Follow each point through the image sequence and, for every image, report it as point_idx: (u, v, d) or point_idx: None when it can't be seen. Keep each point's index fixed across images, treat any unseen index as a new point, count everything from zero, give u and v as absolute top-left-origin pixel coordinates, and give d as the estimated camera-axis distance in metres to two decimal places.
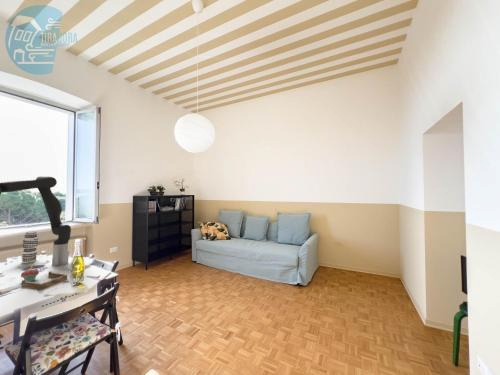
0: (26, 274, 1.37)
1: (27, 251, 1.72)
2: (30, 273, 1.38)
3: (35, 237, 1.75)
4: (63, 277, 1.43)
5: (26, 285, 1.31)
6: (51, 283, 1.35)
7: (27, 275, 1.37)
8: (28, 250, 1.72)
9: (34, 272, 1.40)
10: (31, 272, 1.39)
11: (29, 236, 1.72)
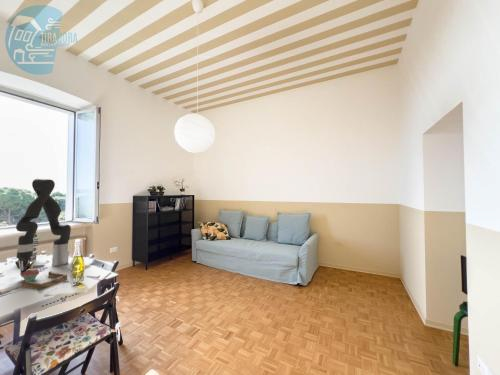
0: (26, 274, 1.37)
1: None
2: (30, 273, 1.38)
3: (35, 237, 1.75)
4: (63, 277, 1.43)
5: (26, 285, 1.31)
6: (51, 283, 1.35)
7: (27, 275, 1.37)
8: None
9: (34, 272, 1.40)
10: (31, 272, 1.39)
11: None
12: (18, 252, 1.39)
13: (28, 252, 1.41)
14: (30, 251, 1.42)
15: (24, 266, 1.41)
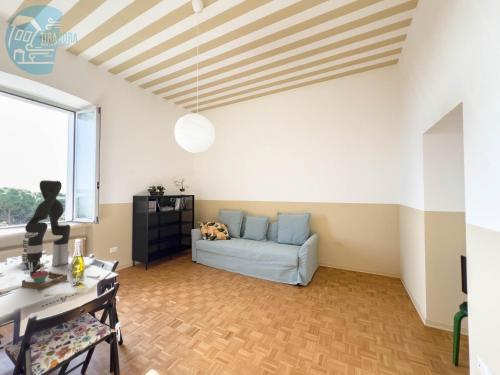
0: (36, 275, 1.36)
1: None
2: (40, 274, 1.37)
3: None
4: (63, 277, 1.43)
5: (26, 285, 1.31)
6: (51, 283, 1.35)
7: (37, 276, 1.36)
8: None
9: (44, 273, 1.39)
10: (41, 273, 1.38)
11: (29, 236, 1.72)
12: (28, 253, 1.37)
13: (38, 253, 1.40)
14: (40, 252, 1.41)
15: (34, 267, 1.40)
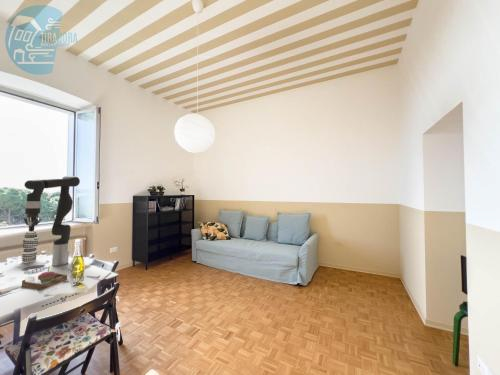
0: (43, 276, 1.35)
1: (27, 251, 1.72)
2: (47, 275, 1.36)
3: (35, 237, 1.75)
4: (63, 277, 1.43)
5: (26, 285, 1.31)
6: (51, 283, 1.35)
7: (44, 277, 1.35)
8: (28, 250, 1.72)
9: (51, 274, 1.38)
10: (48, 274, 1.37)
11: (29, 236, 1.72)
12: (27, 208, 1.45)
13: (36, 209, 1.48)
14: (38, 208, 1.49)
15: (32, 222, 1.48)
